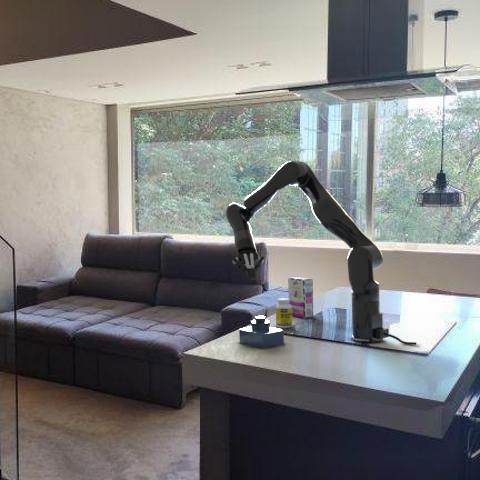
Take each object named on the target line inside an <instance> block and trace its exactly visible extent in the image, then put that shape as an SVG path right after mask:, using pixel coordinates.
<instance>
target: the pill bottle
mask: <svg viewBox="0 0 480 480" xmlns="http://www.w3.org/2000/svg"><path fill="white" fill-rule="evenodd" d="M289 303H290V299H289V297H288V298H287V297H285V298H284V297H281V298H277V304H276V305H275V326H276V327H277V328H278V329H289V328H292V327H293V316H292V306H291V305H290V304H289Z"/></svg>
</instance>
